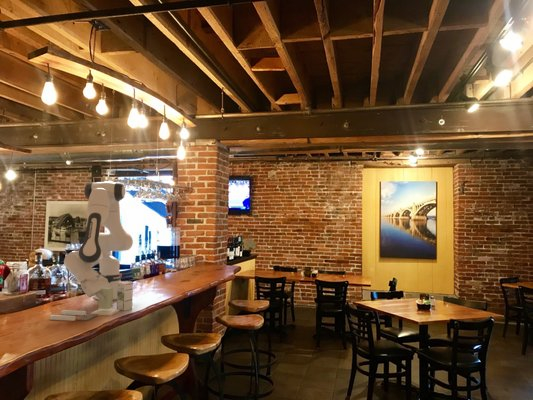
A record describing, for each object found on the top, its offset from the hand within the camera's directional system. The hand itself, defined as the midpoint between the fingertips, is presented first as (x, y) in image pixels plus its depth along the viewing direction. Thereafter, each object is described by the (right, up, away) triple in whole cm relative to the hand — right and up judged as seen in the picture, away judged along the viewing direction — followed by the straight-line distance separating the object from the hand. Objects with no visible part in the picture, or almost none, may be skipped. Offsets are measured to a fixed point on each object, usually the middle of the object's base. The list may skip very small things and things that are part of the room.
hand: (107, 298), depth 201 cm
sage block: (-1, -5, 0) cm, 5 cm away
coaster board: (-1, -7, 0) cm, 7 cm away
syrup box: (+6, -8, +8) cm, 13 cm away
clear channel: (-11, -7, -11) cm, 17 cm away
